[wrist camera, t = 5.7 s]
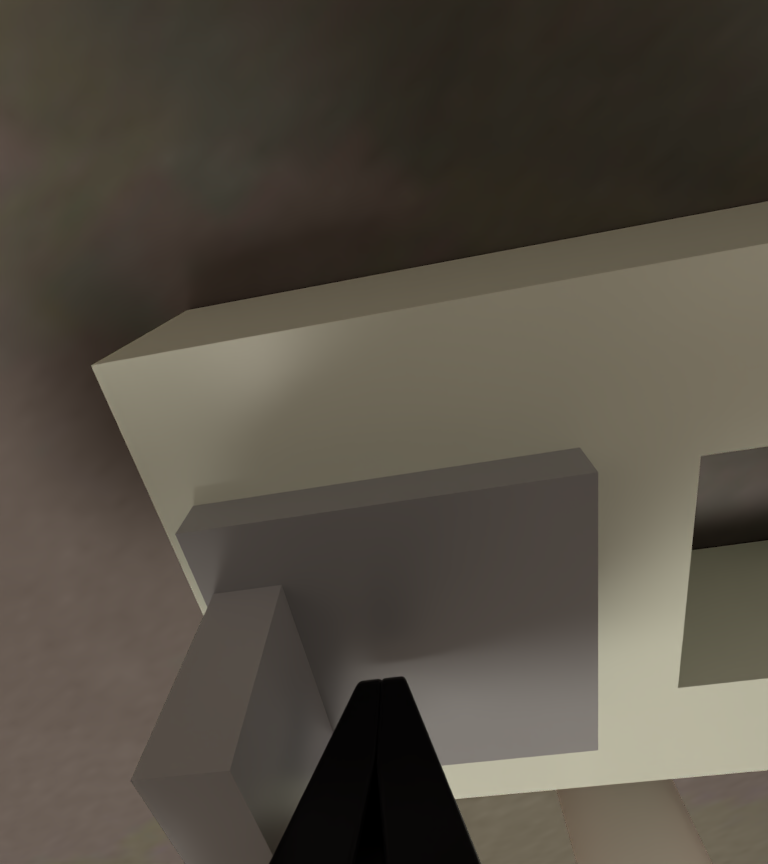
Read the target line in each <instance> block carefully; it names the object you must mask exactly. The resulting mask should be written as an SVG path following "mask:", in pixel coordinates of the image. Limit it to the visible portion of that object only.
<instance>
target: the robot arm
mask: <svg viewBox="0 0 768 864" xmlns="http://www.w3.org/2000/svg"><path fill="white" fill-rule="evenodd" d="M269 864H481V862H480V860H479V857H478V855H477V852H476V850H475V847H474V845H473V842H472V840H471V837H470V835H469V833H468V830H467V828H466V825H465V823H464V820H463V818H462V815H461V813H460V810H459V808H458V805H457V803H456V801H455V798H454V796H453V793H452V791H451V788H450V786H449V783H448V781H447V778H446V776H445V773H444V771H443V769H442V766H441V764H440V761H439V759H438V756H437V754H436V751H435V749H434V746H433V744H432V742H431V739H430V737H429V734H428V732H427V729H426V727H425V724H424V722H423V719H422V717H421V714H420V712H419V710H418V707H417V705H416V702H415V700H414V697H413V695H412V692H411V690H410V687H409V685H408V683H407V680H406V678H405V677H403V676H398V677H389V678H384V679H383V680H381V679H372V680H363V681H360V682H359V683H358V684H357V685H356V687H355V689H354V691H353V693H352V695H351V697H350V699H349V701H348V703H347V705H346V707H345V709H344V711H343V713H342V715H341V717H340V719H339V721H338V723H337V726H336V728H335V730H334V732H333V734H332V736H331V738H330V740H329V742H328V744H327V746H326V748H325V750H324V752H323V754H322V756H321V758H320V760H319V762H318V764H317V766H316V768H315V770H314V772H313V774H312V777H311V779H310V781H309V783H308V785H307V787H306V789H305V791H304V793H303V795H302V797H301V799H300V801H299V803H298V805H297V807H296V809H295V811H294V813H293V815H292V817H291V819H290V821H289V823H288V826H287V828H286V830H285V832H284V834H283V836H282V838H281V840H280V842H279V844H278V846H277V848H276V850H275V852H274V854H273V856H272V858H271V860H270V862H269Z"/></svg>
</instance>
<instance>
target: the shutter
mask: <svg viewBox="0 0 768 864" xmlns="http://www.w3.org/2000/svg"><path fill="white" fill-rule="evenodd" d="M175 535H176V537H177V540H178V542H179V544H180V546H181V549H182V551H183V553H184V556H185V558H186V560H187V562H188V565H189V567H190V569H191V571H192V574H193V576H194V578H195V580H196V583H197V585H198V587H199V590H200V592H201V594H202V596H203V599H204V601H205V603H206V605H207V610H206V612H205V614H204V616H203V619H202V621H201V623H200V625H199V628H198V630H197V632H196V634H195V637H194V639H193V641H192V643H191V646H190V648H189V650H188V652H187V655H186V657H185V659H184V661H183V664H182V666H181V668H180V670H179V673H178V675H177V677H176V680H175V682H174V684H173V686H172V689H171V691H170V693H169V695H168V698H167V700H166V702H165V704H164V707H163V709H162V711H161V713H160V716H159V718H158V720H157V722H156V725H155V727H154V729H153V731H152V734H151V736H150V738H149V740H148V743H147V745H146V747H145V750H144V752H143V754H142V756H141V759H140V761H139V763H138V765H137V768H136V770H135V772H134V774H133V777H132V779H131V782H132V784H133V785H134V787H135V788H136V790H137V791H138V793H139V794H140V796H141V797H142V799H143V800H144V802H145V803H146V805H147V806H148V808H149V809H150V811H151V813H152V814H153V816H154V817H155V819H156V820H157V822H158V823H159V825H160V826H161V828H162V829H163V831H164V832H165V834H166V835H167V837H168V838H169V840H170V841H171V843H172V844H173V846H174V848H175V849H176V851H177V852H178V854H179V855H180V857H181V858H182V860H183V861H184V863H185V864H269V862H270V860H271V858H272V856H273V854H274V852H275V850H276V848H277V846H278V844H279V842H280V840H281V838H282V836H283V834H284V832H285V830H286V828H287V826H288V823H289V821H290V819H291V817H292V815H293V813H294V811H295V809H296V807H297V805H298V803H299V801H300V799H301V797H302V795H303V793H304V791H305V789H306V787H307V785H308V783H309V781H310V779H311V777H312V774H313V772H314V770H315V768H316V766H317V764H318V762H319V760H320V758H321V756H322V754H323V752H324V750H325V748H326V746H327V744H328V742H329V740H330V738H331V736H332V734H333V732H334V730H335V728H336V726H337V723H338V721H339V719H340V717H341V715H342V713H343V711H344V709H345V707H346V705H347V703H348V701H349V699H350V697H351V695H352V693H353V691H354V689H355V687H356V685H357V684H358V683H359V682H360V681H363V680H372V679H381V680H383V679H384V678H389V677H398V676H403V677H405V678H406V680H407V683H408V685H409V687H410V690H411V692H412V695H413V697H414V700H415V702H416V705H417V707H418V710H419V712H420V714H421V717H422V719H423V722H424V724H425V727H426V729H427V732H428V734H429V737H430V739H431V742H432V744H433V746H434V749H435V751H436V754H437V756H438V759H439V761H440V764H441V766H444V765H454V764H464V763H474V762H485V761H495V760H505V759H515V758H525V757H535V756H545V755H556V754H566V753H576V752H586V751H596V750H598V471H597V470H596V468H595V467H594V466H593V464H592V463H591V462H590V460H589V459H588V458H587V456H586V455H585V454H584V452H583V451H582V450H581V448H580V447H579V448H573V449H566V450H559V451H553V452H546V453H540V454H533V455H526V456H520V457H513V458H506V459H500V460H493V461H487V462H480V463H473V464H467V465H460V466H454V467H447V468H440V469H434V470H427V471H421V472H414V473H407V474H401V475H394V476H387V477H381V478H374V479H368V480H361V481H354V482H348V483H341V484H335V485H328V486H321V487H315V488H308V489H301V490H295V491H288V492H282V493H275V494H268V495H262V496H255V497H249V498H242V499H235V500H229V501H222V502H215V503H209V504H202V505H196V506H193V507H192V508H191V510H190V511H189V513H188V515H187V516H186V518H185V519H184V521H183V522H182V524H181V526H180V527H179V529H178V530H177V532H176V533H175Z"/></svg>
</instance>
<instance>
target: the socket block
mask: <svg viewBox="0 0 768 864" xmlns="http://www.w3.org/2000/svg"><path fill="white" fill-rule="evenodd" d="M91 367H92V369H93V371H94V373H95V376H96V378H97V380H98V382H99V385H100V387H101V389H102V391H103V393H104V396H105V398H106V400H107V402H108V405H109V407H110V409H111V411H112V413H113V416H114V418H115V420H116V422H117V425H118V427H119V429H120V431H121V434H122V436H123V438H124V440H125V442H126V445H127V447H128V449H129V451H130V454H131V456H132V458H133V460H134V462H135V465H136V467H137V469H138V471H139V474H140V476H141V478H142V480H143V482H144V485H145V487H146V489H147V491H148V494H149V496H150V498H151V500H152V502H153V505H154V507H155V509H156V511H157V514H158V516H159V518H160V520H161V522H162V525H163V527H164V529H165V531H166V534H167V536H168V538H169V540H170V542H171V545H172V547H173V549H174V551H175V554H176V556H177V558H178V560H179V562H180V565H181V567H182V569H183V571H184V574H185V576H186V578H187V580H188V582H189V585H190V587H191V589H192V591H193V594H194V596H195V598H196V600H197V602H198V605H199V607H200V609H201V611H202V614H203V616H204V614H205V612H206V610H207V605H206V603H205V601H204V599H203V596H202V594H201V592H200V590H199V587H198V585H197V583H196V580H195V578H194V576H193V574H192V571H191V569H190V567H189V565H188V562H187V560H186V558H185V556H184V553H183V551H182V549H181V546H180V544H179V542H178V540H177V537H176V535H175V533H176V532H177V530H178V529H179V527H180V526H181V524H182V522H183V521H184V519H185V518H186V516H187V515H188V513H189V511H190V510H191V508H192V507H193V506H196V505H202V504H209V503H215V502H222V501H229V500H235V499H242V498H249V497H255V496H262V495H268V494H275V493H282V492H288V491H295V490H301V489H308V488H315V487H321V486H328V485H335V484H341V483H348V482H354V481H361V480H368V479H374V478H381V477H387V476H394V475H401V474H407V473H414V472H421V471H427V470H434V469H440V468H447V467H454V466H460V465H467V464H473V463H480V462H487V461H493V460H500V459H506V458H513V457H520V456H526V455H533V454H540V453H546V452H553V451H559V450H566V449H573V448H579V447H580V448H581V450H582V451H583V452H584V454H585V455H586V456H587V458H588V459H589V460H590V462H591V463H592V464H593V466H594V467H595V468H596V470H597V471H598V750H596V751H586V752H576V753H566V754H556V755H545V756H535V757H525V758H515V759H505V760H495V761H485V762H474V763H464V764H454V765H444V766H442V769H443V771H444V773H445V776H446V778H447V781H448V783H449V786H450V788H451V791H452V793H453V796H454V798H455V799H460V798H471V797H482V796H493V795H503V794H514V793H525V792H536V791H547V790H557V789H568V788H579V787H590V786H601V785H612V784H622V783H633V782H644V781H655V780H666V779H676V778H687V777H698V776H709V775H720V774H730V773H741V772H752V771H763V770H768V540H766V541H758V542H751V543H743V544H735V545H728V546H720V547H712V548H705V549H697V550H692V541H693V531H694V521H695V511H696V501H697V491H698V481H699V471H700V461H701V456H705V455H712V454H718V453H725V452H732V451H739V450H746V449H753V448H759V447H766V446H768V201H766V202H761V203H756V204H750V205H745V206H740V207H734V208H729V209H724V210H718V211H713V212H708V213H702V214H697V215H692V216H686V217H681V218H676V219H670V220H665V221H660V222H654V223H649V224H644V225H638V226H633V227H628V228H622V229H617V230H612V231H606V232H601V233H596V234H590V235H585V236H580V237H574V238H569V239H564V240H558V241H553V242H548V243H542V244H537V245H532V246H526V247H521V248H516V249H510V250H505V251H500V252H494V253H489V254H484V255H478V256H473V257H468V258H462V259H457V260H452V261H446V262H441V263H436V264H430V265H425V266H420V267H414V268H409V269H404V270H398V271H393V272H388V273H382V274H377V275H372V276H366V277H361V278H356V279H350V280H345V281H340V282H335V283H329V284H324V285H319V286H313V287H308V288H303V289H297V290H292V291H287V292H281V293H276V294H271V295H265V296H260V297H255V298H249V299H244V300H239V301H233V302H228V303H223V304H217V305H212V306H207V307H201V308H196V309H191V310H187V311H185V312H183V313H181V314H180V315H178V316H176V317H174V318H173V319H171V320H169V321H167V322H166V323H164V324H162V325H160V326H159V327H157V328H155V329H154V330H152V331H150V332H148V333H147V334H145V335H143V336H141V337H140V338H138V339H136V340H134V341H133V342H131V343H129V344H127V345H126V346H124V347H122V348H120V349H119V350H117V351H115V352H114V353H112V354H110V355H108V356H107V357H105V358H103V359H101V360H100V361H98V362H96V363H94V364H93V365H91Z"/></svg>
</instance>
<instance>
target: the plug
mask: <svg viewBox="0 0 768 864" xmlns="http://www.w3.org/2000/svg"><path fill="white" fill-rule="evenodd" d="M556 791H557V794H558V798H559V802H560V805H561V809H562V812H563V816H564V820H565V823H566V827H567V830H568V834H569V838H570V841H571V845H572V849H573V852H574V856H575V859H576V863H577V864H713V863H712V861H711V859H710V857H709V855H708V853H707V851H706V849H705V847H704V844H703V842H702V840H701V838H700V836H699V834H698V832H697V830H696V828H695V826H694V824H693V822H692V819H691V817H690V815H689V813H688V811H687V809H686V807H685V805H684V803H683V801H682V799H681V797H680V794H679V792H678V790H677V788H676V786H675V784H674V782H673V780H672V779H666V780H655V781H644V782H633V783H622V784H612V785H601V786H590V787H579V788H568V789H557V790H556Z"/></svg>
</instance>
